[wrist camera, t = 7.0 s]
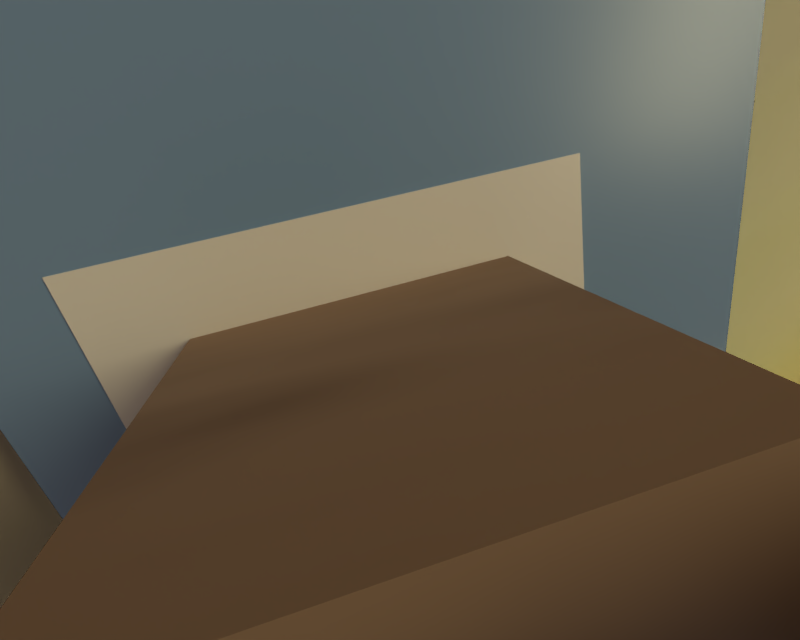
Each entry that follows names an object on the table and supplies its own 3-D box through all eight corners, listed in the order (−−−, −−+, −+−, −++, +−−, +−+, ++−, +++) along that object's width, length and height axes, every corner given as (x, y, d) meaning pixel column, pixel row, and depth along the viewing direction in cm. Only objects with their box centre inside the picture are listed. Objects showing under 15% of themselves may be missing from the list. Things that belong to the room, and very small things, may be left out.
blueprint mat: (681, 547, 15) (702, 568, 14) (226, 713, 13) (221, 748, 12) (737, -113, 8) (783, -144, 7) (-213, 38, 6) (-291, 18, 5)
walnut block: (533, 490, 11) (756, 813, 6) (292, 570, 10) (272, 1037, 5) (508, 255, 9) (867, 414, 3) (189, 339, 8) (-99, 746, 2)
